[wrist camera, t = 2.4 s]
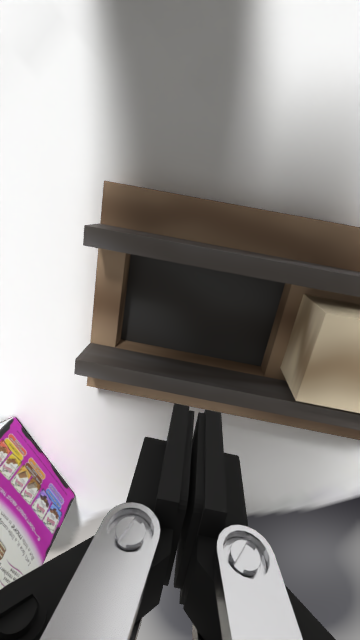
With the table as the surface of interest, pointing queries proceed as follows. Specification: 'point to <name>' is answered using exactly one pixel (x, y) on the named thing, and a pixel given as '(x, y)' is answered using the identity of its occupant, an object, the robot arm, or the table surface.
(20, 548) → the candy bar box
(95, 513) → the table surface
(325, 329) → the maple block
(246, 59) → the table surface
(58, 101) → the table surface
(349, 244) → the runway board
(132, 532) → the robot arm
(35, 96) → the table surface
